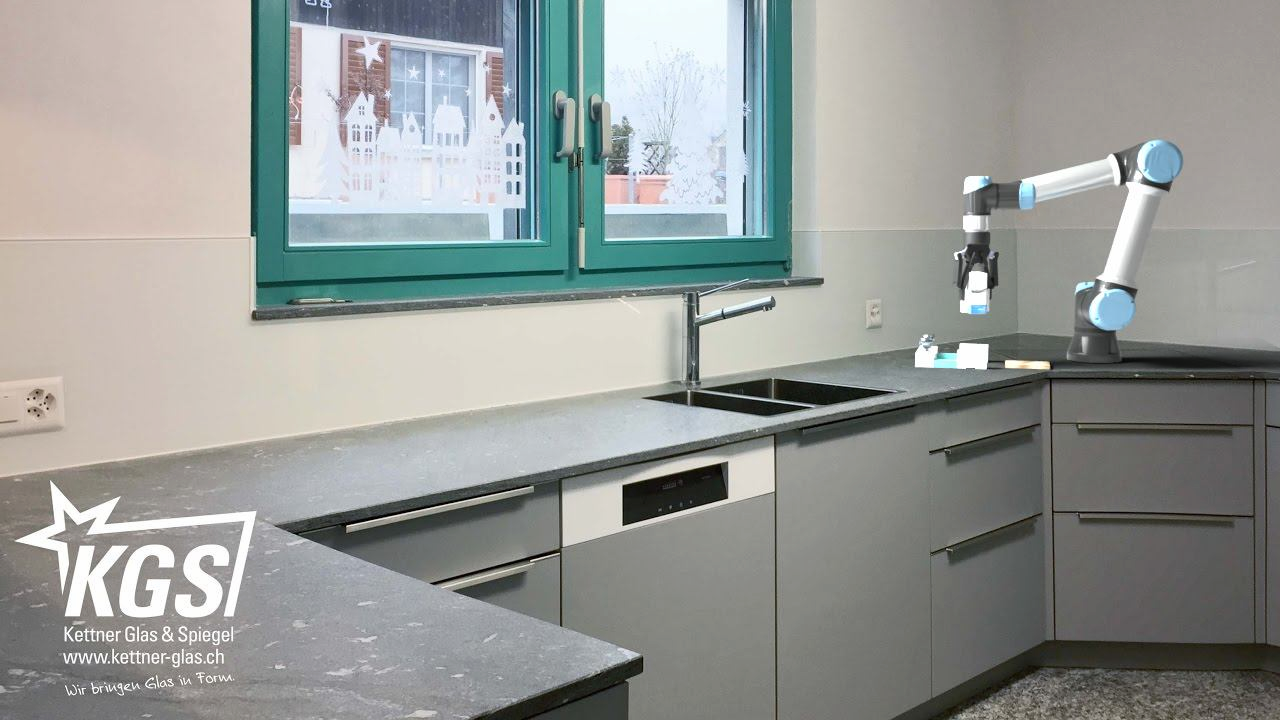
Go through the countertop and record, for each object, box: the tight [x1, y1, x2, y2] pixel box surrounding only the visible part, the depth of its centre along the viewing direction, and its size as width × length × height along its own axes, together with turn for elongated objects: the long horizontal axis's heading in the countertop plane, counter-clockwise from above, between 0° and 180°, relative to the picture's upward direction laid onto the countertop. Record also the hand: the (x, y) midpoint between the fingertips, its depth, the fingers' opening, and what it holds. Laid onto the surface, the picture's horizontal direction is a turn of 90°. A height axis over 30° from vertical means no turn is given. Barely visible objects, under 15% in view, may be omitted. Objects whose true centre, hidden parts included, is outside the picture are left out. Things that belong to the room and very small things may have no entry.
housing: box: [914, 343, 989, 370], centre depth 350 cm, size 20×19×5 cm
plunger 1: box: [921, 333, 935, 348], centre depth 357 cm, size 4×4×7 cm
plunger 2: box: [918, 336, 933, 352], centre depth 347 cm, size 4×4×7 cm
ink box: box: [966, 271, 988, 315], centre depth 346 cm, size 8×5×12 cm, turn 178°
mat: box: [1004, 359, 1051, 370], centre depth 344 cm, size 12×10×1 cm
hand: (974, 311), depth 347 cm, fingers closed on ink box, 6 cm apart
